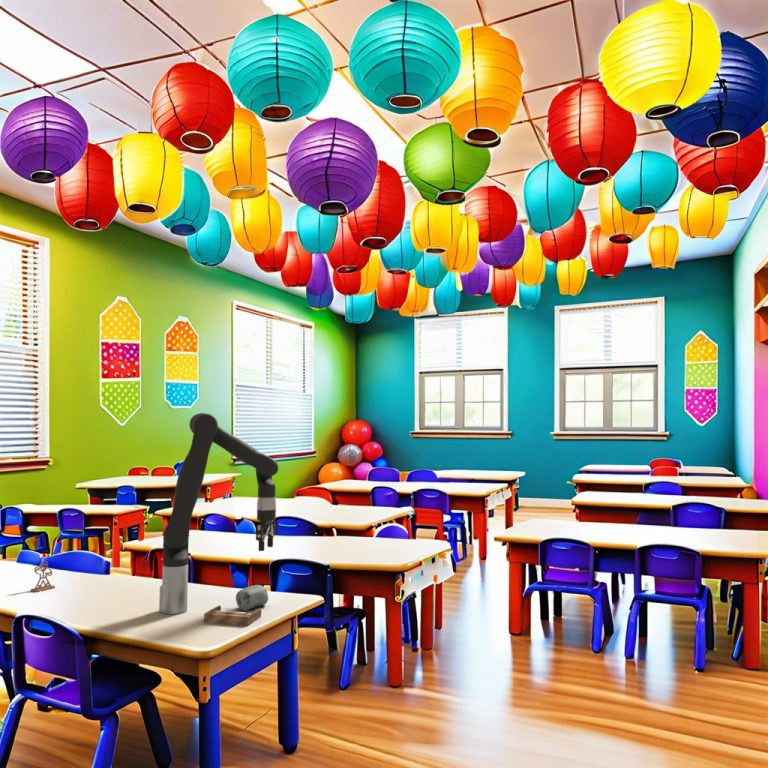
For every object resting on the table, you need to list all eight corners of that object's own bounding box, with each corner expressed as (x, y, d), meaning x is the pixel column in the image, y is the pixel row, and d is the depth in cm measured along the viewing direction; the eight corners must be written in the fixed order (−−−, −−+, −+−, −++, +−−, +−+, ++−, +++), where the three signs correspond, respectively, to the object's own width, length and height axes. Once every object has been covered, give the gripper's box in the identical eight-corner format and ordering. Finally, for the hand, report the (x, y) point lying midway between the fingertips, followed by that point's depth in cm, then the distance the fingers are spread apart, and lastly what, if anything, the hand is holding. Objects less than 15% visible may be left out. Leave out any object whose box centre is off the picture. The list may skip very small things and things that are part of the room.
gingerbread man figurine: (49, 587, 291) (50, 558, 292) (55, 588, 290) (56, 559, 290) (30, 591, 283) (31, 562, 284) (36, 592, 282) (37, 563, 282)
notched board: (203, 622, 242) (204, 611, 242) (218, 613, 253) (218, 603, 253) (248, 625, 238) (248, 615, 239) (261, 617, 249) (261, 607, 249)
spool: (247, 605, 252) (245, 579, 257) (231, 613, 257) (229, 587, 262) (275, 607, 262) (272, 582, 267) (259, 615, 266) (256, 590, 271)
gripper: (265, 505, 283) (264, 545, 282) (250, 510, 269) (249, 551, 268) (281, 506, 281) (281, 546, 280) (267, 510, 267) (267, 552, 266)
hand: (265, 548), depth 274 cm, fingers open, 8 cm apart
